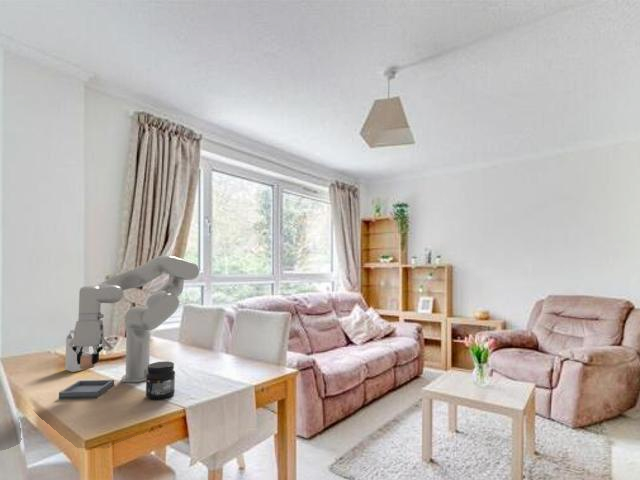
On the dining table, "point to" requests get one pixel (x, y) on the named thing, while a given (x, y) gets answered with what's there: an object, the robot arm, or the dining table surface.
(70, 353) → the milk carton
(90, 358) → the salt shaker
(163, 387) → the supplement container
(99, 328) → the robot arm
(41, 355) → the dining table surface
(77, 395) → the tray
